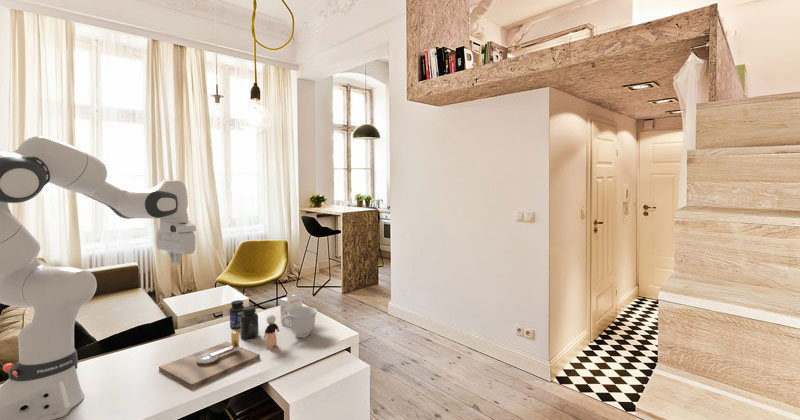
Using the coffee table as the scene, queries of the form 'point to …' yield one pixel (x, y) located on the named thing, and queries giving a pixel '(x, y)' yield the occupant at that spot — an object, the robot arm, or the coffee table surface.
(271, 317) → the grandmother figurine
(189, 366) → the base plate
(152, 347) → the coffee table surface
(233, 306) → the pill bottle
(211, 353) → the lever
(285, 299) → the ink cartridge box
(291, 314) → the teacup
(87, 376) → the coffee table surface
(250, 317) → the supplement bottle
